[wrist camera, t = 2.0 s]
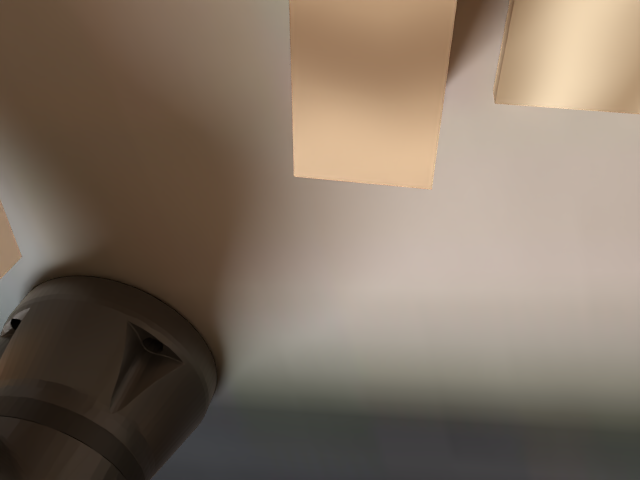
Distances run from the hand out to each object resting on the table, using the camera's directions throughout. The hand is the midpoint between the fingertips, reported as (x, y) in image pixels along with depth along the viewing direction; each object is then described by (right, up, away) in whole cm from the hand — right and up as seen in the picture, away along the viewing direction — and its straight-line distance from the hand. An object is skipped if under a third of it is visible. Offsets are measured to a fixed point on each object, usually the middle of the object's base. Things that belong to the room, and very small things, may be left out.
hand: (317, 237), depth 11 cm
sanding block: (+3, +11, +14) cm, 18 cm away
